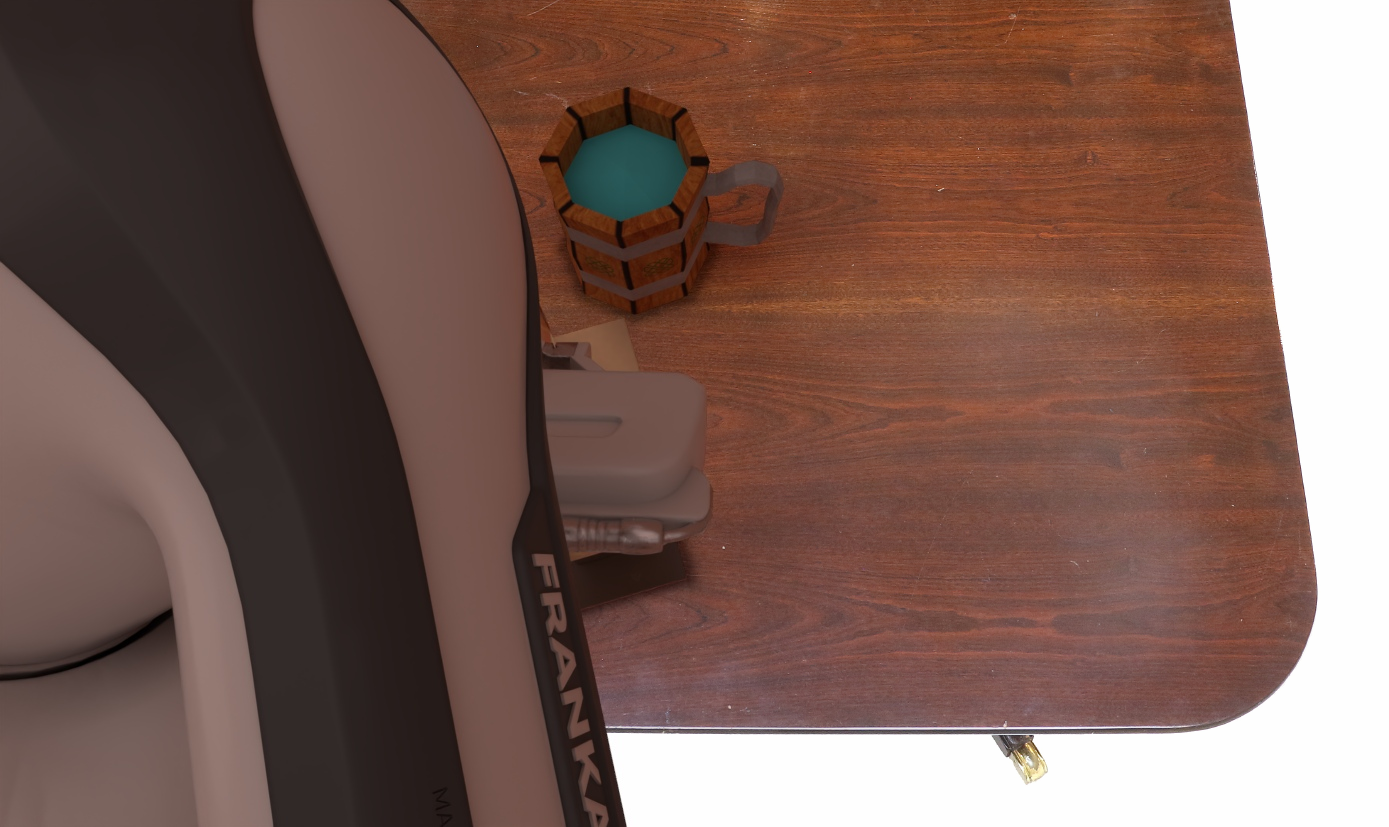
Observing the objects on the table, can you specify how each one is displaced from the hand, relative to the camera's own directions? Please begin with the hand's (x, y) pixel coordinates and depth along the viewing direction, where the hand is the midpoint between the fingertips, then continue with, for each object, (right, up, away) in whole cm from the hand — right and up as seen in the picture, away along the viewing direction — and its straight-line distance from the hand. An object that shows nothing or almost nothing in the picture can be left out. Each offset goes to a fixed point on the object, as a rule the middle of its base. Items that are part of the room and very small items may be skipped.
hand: (481, 355), depth 41 cm
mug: (+7, +13, +47) cm, 49 cm away
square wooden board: (+1, -5, +13) cm, 14 cm away
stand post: (+1, -13, +39) cm, 41 cm away
